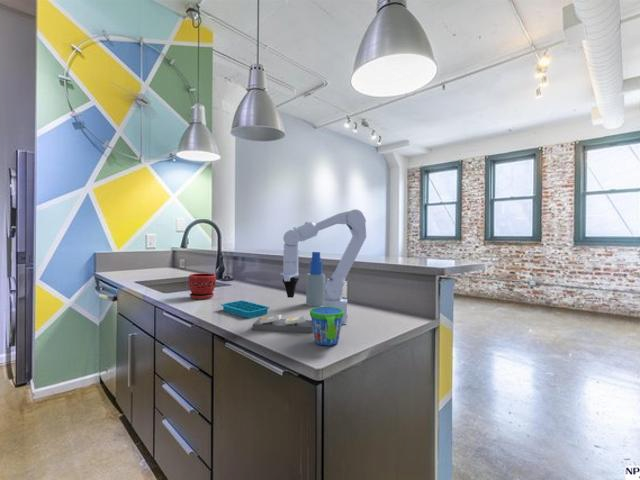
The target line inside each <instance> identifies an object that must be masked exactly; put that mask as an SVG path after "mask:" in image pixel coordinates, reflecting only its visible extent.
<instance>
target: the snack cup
mask: <svg viewBox="0 0 640 480" xmlns="http://www.w3.org/2000/svg"><path fill="white" fill-rule="evenodd" d="M309 315H310V318H311V320H312V326H313V331H312V333H313V340H314V342H315V343H316V344H317V345H320V346H328V347H329V346H335V345H336V344H339V340H340V333H341V330H342V329H341V328H342V324H341V323H342V317H343V315H344V311H343V310H342V309H340V308H336V307H323V306H318V307H313V308H311V309H310V311H309Z"/></svg>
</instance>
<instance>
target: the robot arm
mask: <svg viewBox="0 0 640 480" xmlns="http://www.w3.org/2000/svg"><path fill="white" fill-rule="evenodd" d="M366 222H367V220H366V217H365V216H364V213H363V212H362V210H359V209H358V208H357V209H351V210H347V211H344V212H340V213H337V214H334V215H333V216H330V217H327V218H326V219H323V220H321V221H317V222H316V223H315V222H312V221H305V222H304V224H302V225H299V226H298V227H296V226H294V227H293V229H289V230H287V231H286V232H285V233H284V235H283V237H282V238H283V239H282V240H283V242H284V243H283V257H282V258H283V272H280V273H279V274H280V276H283V278H282V282H283V285H284V287H285V288H284V289H285V291H286V296H287V298H291V299H292V298H295V297H294V296H295V293H296V291H295V290H296V289H297V288H296V287H297V284H298V282H299V280H300V278H299V277H298V276H300V275H299V274H300V273H299V253H300V252H299V242H304V241H306V240H309V239H312V238H315V237H316V236H317V235H318V234H319V231H323V230H325V229H327V228H330V227H332V226H335V225H346V226H347V227H348V228H349V232H350V233H351V238H350V241H349V243H348V244H347V247H346V249H345V251H344V253H343V255H342V256H341V258H340V261H339V262H338V264H337V266H336V268H335V270H334V272H333V273H332V274H331V276H330V278H329V279H328V280H325V284H324V290H325V296H324V302H323V306H322V307H336V308H340V309H342V310H343V311H344V315H343V317H342V323H341V325H347V323H348V322H347V321H348V318H349V314H348V299H347V298H343V289H344V286H345V283H346V278H347V276H348V275H349V273H350V270H351V269H352V266H353V264H354V262H355V261H356V259H357V256H358V254H359V253H360V250H361V248H362V246H363V244H364V242H365V241H366V239H367V228H366V227H367V226H366V225H367V224H366Z"/></svg>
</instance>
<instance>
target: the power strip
mask: <svg viewBox="0 0 640 480" xmlns="http://www.w3.org/2000/svg"><path fill="white" fill-rule="evenodd" d="M262 318H263V317H259V318H257V320H255V321H254V322H253V323H252V324H251V325H252V327H251V328H252V331H265V332H266V331H267V332H268V331H269V332H287V333H292V332H293V333H307V334H308V333H309V334H312V333H313V326H312V319H306V321H305V322H299V323H292V324H286V325H285V321H286V320H287V319H288V318H281V319H280V320H277V321H272V322H267V323H262V324H260V320H261V319H262Z"/></svg>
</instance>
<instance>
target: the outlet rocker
mask: <svg viewBox="0 0 640 480" xmlns="http://www.w3.org/2000/svg"><path fill="white" fill-rule="evenodd" d="M261 318H262V319H261V320H260V324H262V323H267V322H272V321H277V320H280V319H283V318H282V314H278V315H271V316H267V317H261Z"/></svg>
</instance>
